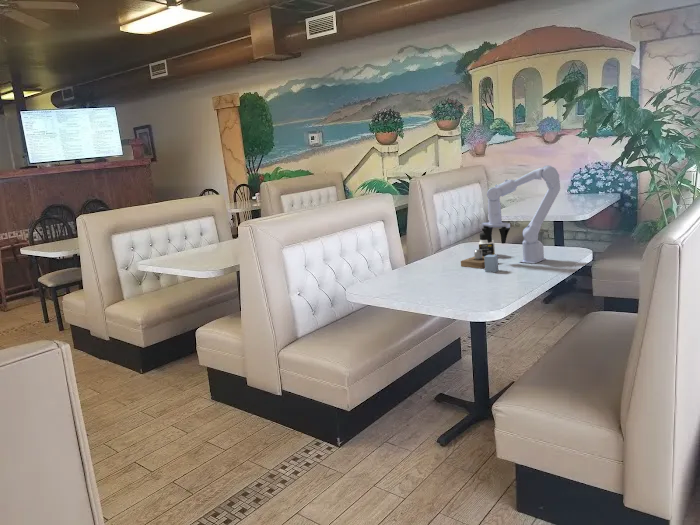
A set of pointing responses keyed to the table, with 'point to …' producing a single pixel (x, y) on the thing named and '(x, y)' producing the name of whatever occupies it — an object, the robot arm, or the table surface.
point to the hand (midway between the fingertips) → (496, 242)
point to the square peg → (491, 263)
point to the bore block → (473, 263)
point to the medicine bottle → (486, 245)
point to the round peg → (478, 254)
